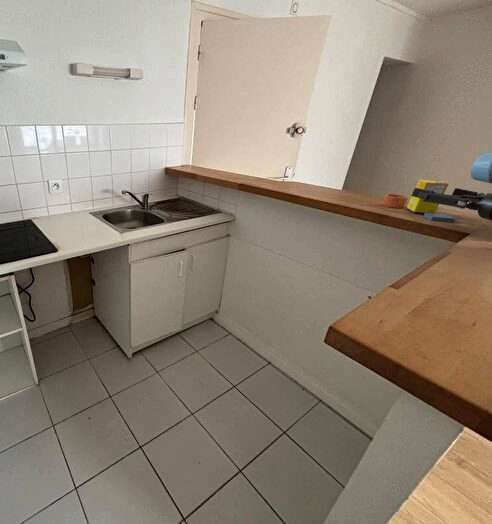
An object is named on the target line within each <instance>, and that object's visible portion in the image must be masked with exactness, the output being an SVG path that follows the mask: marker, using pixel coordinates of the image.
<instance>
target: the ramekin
mask: <svg viewBox="0 0 492 524" xmlns="http://www.w3.org/2000/svg"><path fill="white" fill-rule="evenodd" d="M408 200H409V196H408V195H403V194H399V193H386V194H385V195H384V198H383V200H382V202H381V203H382V205H383V206H384V207H386V208H390V209H403V208H405V207H406V204H407V202H408Z"/></svg>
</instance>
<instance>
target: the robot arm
mask: <svg viewBox="0 0 492 524" xmlns="http://www.w3.org/2000/svg"><path fill="white" fill-rule="evenodd" d="M469 174H470V178H471V179H472V180H474V181H478V182H484V183H488V184H492V151H491V152H486V153H483V154H481V155H480V156H479V157H477V158H476V160H475V161H474V162H473V164H472V166H471V168H470V173H469ZM412 196H413V197H417V198H421V199H423V201H424V202H431V203H437V204H439V205H443V206H448V207H454V208H458V209H460V210H463V209H468V210H472V211H477V215H478V217H480V218H482V219H485V220H488V221H491V222H492V193H490V192H488V193H484V192H478V191H473V190H468V189H462V188H460V187H459V188H457V187H454V190H453V192H452V194H446V193H444V194H439V193H435V192H434V190H431V191H428V190H424V189H419V188H416V187H414V189H413V191H412V193H411V197H412Z"/></svg>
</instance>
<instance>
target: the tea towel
mask: <svg viewBox="0 0 492 524" xmlns="http://www.w3.org/2000/svg"><path fill="white" fill-rule="evenodd" d="M423 217H424V218H426V219H427V220H430V221H435V222H436V221H437V222H445V223H446V222H447V223H455V222H456V220H457V218H455V217H453V216H451V215H448V214H443V213H435V214H434V213H425V214H423Z"/></svg>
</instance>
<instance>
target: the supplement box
mask: <svg viewBox="0 0 492 524" xmlns="http://www.w3.org/2000/svg"><path fill="white" fill-rule="evenodd" d="M449 184H450V183H449V182H447V181H444V180H440V179H439V180H438V179H437V180H436V179H418V181H417V183H416V185H415V188H419V189H424V190H428V191H431V190H434V192H435V193H439V194H446V193H445V192H446V191H447V188H448V186H449ZM410 197H411V198H410V200H409V202H408V204H407V207H406V209H405V210H406V211H408V212H410V213H411V214H413V215H414V214H415V215H416V214H417V215H424V214H425V213H434V214H436V212H437V210H438V208H439V206H440V204H437V203H431V202H424V201H423V199H421V198H417V197H413V196H412V195H411V196H410Z"/></svg>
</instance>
